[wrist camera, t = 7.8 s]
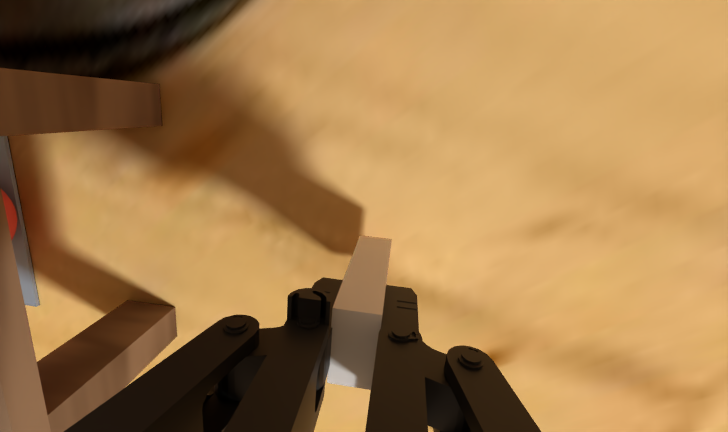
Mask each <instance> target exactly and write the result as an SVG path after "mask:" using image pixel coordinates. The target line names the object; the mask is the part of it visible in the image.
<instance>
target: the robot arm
mask: <svg viewBox="0 0 728 432" xmlns="http://www.w3.org/2000/svg"><path fill="white" fill-rule="evenodd" d="M391 240H392V239H385V238H377V237H369V236H361V235H360V236H359V239H358V242H357V244H356V247H355V250H354V252H353V255H352V258H351V260H350V263H349V266H348V268H347V271H346V273H345V276H344V279H343V280H337V279H330V278H321V279H320V280H318V281H317V282H315V283H314V285H313V287H312V288H305V289H298V290H296V291H293V292H292V293H290V294H289V295H288V307H287V321H286V322H285V324H284V326H281V327H276V328H263V329H259V322H258V321H257V320H256V319H255V318H253V317H251V316H247V315H233V316H229V317H225V318H223V319H221V320H219V321H218V322H216V323H215V324H213V325H212V326H211V327H209V328H208V329H206V330H205V331H204V332H202V333H201V334H199V335H198V336H197V337H195V338H194V339H192V340H191V341H190V342H188V343H187V344H185V345H184V346H183V347H181V348H180V349H178V350H177V351H176V352H174V353H173V354H171V355H170V356H169V357H167V358H166V359H164V360H163V361H162V362H160V363H159V364H157V365H156V366H155V367H153V368H152V369H150V370H149V371H148V372H146V373H145V374H143V375H142V376H141V377H139V378H138V379H136V380H135V381H134V382H132V383H131V384H129V385H128V386H127V387H125V388H124V389H123V390H121V391H120V392H118V393H117V394H116V395H114V396H113V397H111V398H110V399H109V400H107V401H106V402H104V403H103V404H102V405H100V406H99V407H97V408H96V409H95V410H93V411H92V412H90V413H89V414H88V415H86V416H85V417H83V418H82V419H81V420H79V421H78V422H76V423H75V424H74V425H72V426H71V427H69V428H68V429H67V430H65V431H64V432H314V429H315V425H316V422H317V418H318V415H319V411H320V408H321V404H322V401H323V397H324V389H325V380H326V377H327V374H328V378H327V383H331V384H338V385H344V386H350V387H357V388H363V389H369V390H371V394H370V401H369V409H368V416H367V424H366V431H365V432H428V426H431V427H433V431H434V432H541V431H540V429H539V428H538V426H537V425H536V423H535V422H534V420H533V419H532V417H531V416H530V414H529V413H528V412H527V410H526V409H525V407H524V406H523V404H522V403H521V401H520V400H519V398H518V397H517V395H516V394H515V392H514V391H513V389H512V388H511V386H510V385H509V384H508V382H507V381H506V379H505V378H504V376H503V375H502V373H501V372H500V370H499V369H498V367H497V366H496V364H495V363H494V361H493V360H492V359H491V358H490V357H489V356H488V355H487V354H486V353H484V352H482V351H481V350H479V349H476V348H473V347H470V346H455V347H453V348H451V349H449V351H448V353H447V354H444V353H442V352H439V351H436V350H434V349H432V348H430V347H429V346H427V345H426V344H425V343H424V342H423V341H422V337H421V334H420V333H419V326H418V311H417V310H418V307H417V295H416V294H415V293H414V291H413V290H412V289H411V288H404V287H397V286H389V285H386V282H387V274H388V265H389V257H390V248H391Z"/></svg>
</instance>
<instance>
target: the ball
mask: <svg viewBox="0 0 728 432" xmlns="http://www.w3.org/2000/svg"><path fill="white" fill-rule="evenodd" d="M1 192H2V197H3V202H4V206H5V211H6V216H7V221H8V226H9V231H10V235H11V240H12V239H13V237H14V235H15V232H16V228H17V214H16V210H15V207H14V205H13V203H12V201H11V199H10V198H9V197H8V195H7V194H6V193H5V192H4V191H3V190H2V189H1Z"/></svg>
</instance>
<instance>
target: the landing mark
mask: <svg viewBox="0 0 728 432" xmlns="http://www.w3.org/2000/svg"><path fill="white" fill-rule="evenodd" d="M0 187H1V189H2V190H3V191H4V192H5V193H6V194H7V195H8V197H9V198H10V199H11V201H12V203H13V205H14V207H15V210H16V214H17V228H16V232H15V235H14V237H13V239H12V245H13V250H14V255H15V260H16V265H17V269H18V274H19V279H20V284H21V289H22V294H23V299H24V303H25V305H29V306H36V307H37V306H39V305H40V304H39V299H38V294H37V288H36V283H35V278H34V273H33V268H32V262H31V257H30V252H29V247H28V242H27V236H26V231H25V226H24V221H23V216H22V211H21V205H20V200H19V195H18V190H17V185H16V179H15V174H14V169H13V164H12V159H11V154H10V148H9V143H8V138H7V136H0Z"/></svg>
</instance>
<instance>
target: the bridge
mask: <svg viewBox="0 0 728 432" xmlns="http://www.w3.org/2000/svg"><path fill="white" fill-rule="evenodd" d="M150 126H162V117H161V103H160V89H159V84H153V83H143V82H133V81H124V80H114V79H104V78H94V77H85V76H75V75H65V74H55V73H46V72H36V71H26V70H17V69H7V68H0V136H13V135H28V134H43V133H58V132H74V131H89V130H104V129H120V128H135V127H150ZM176 337H177V329H176V315H175V307H170V306H163V305H156V304H149V303H143V302H136V301H129V300H127V301H126V302H124V303H123V304H122V305H120V306H119V307H117V308H116V309H114V310H113V311H111V312H110V313H108V314H107V315H105V316H104V317H102V318H101V319H100V320H98V321H97V322H95V323H94V324H92V325H91V326H89V327H88V328H86V329H85V330H83V331H82V332H80V333H79V334H78V335H76V336H75V337H73V338H72V339H70V340H69V341H67V342H66V343H64V344H63V345H61V346H60V347H58V348H57V349H56V350H54V351H53V352H51V353H50V354H48V355H47V356H45V357H44V358H42V359H41V360H39V361H38V362H36V357H35V352H34V347H33V342H32V337H31V332H30V328H29V323H28V318H27V313H26V308H25V303H24V299H23V294H22V289H21V284H20V279H19V274H18V269H17V265H16V260H15V255H14V250H13V245H12V240H11V235H10V231H9V226H8V221H7V216H6V211H5V206H4V202H3V197H2V192H1V187H0V432H64V431H65V430H67V429H68V428H69V427H71V426H72V425H74V424H75V423H76V422H78V421H79V420H81V419H82V418H83V417H85V416H86V415H88V414H89V413H90V412H92V411H93V410H95V409H96V408H97V407H99V406H100V405H102V404H103V403H104V402H106V401H107V400H109V399H110V398H111V397H113V396H114V395H116V394H117V393H118V392H120V391H121V390H123V389H124V388H125V387H126V386H127V385H128V384H129V383H130V382H131V381H132V380H133V379H134V378H135V377H136V376H137V375H138V374H139V373H140V372H141V371H142V370H143V369H144V368H145V367H146V366H147V365H148V364H149V363H150V362H151V361H152V360H153V359H154V358H155V357H156V356H157V355H158V354H159V353H160V352H161V351H162V350H163V349H164V348H165V347H166V346H168V345H169V344H170V343H171V342H172V341H173V340H174V339H175V338H176Z"/></svg>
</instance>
